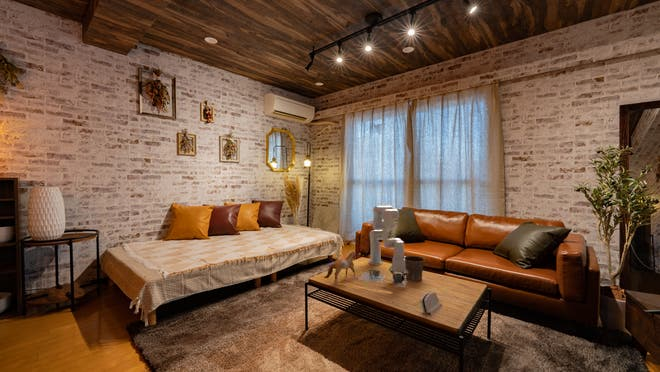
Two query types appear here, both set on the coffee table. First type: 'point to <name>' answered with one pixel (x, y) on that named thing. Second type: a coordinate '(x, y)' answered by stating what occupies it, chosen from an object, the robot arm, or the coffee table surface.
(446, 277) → the coffee table surface
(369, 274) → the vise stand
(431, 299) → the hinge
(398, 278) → the collar
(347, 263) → the horse figurine
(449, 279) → the coffee table surface
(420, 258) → the plant pot
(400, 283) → the pad
